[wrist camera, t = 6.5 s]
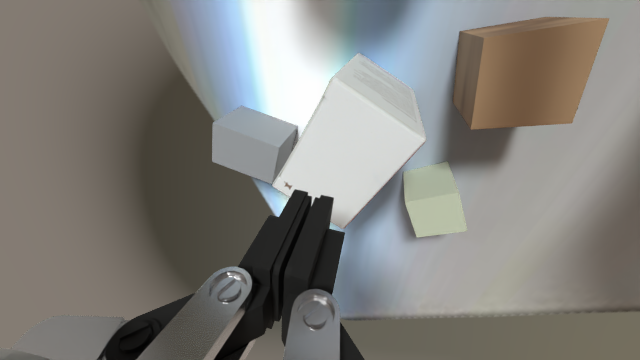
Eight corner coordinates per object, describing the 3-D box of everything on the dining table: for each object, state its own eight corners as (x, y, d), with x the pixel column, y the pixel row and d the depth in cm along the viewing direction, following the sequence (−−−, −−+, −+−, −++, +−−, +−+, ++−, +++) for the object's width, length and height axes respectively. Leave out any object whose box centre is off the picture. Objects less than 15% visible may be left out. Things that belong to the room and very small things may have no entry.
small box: (360, 159, 25) (342, 233, 17) (312, 128, 25) (268, 188, 16) (416, 88, 20) (431, 142, 12) (359, 49, 20) (332, 75, 11)
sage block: (447, 161, 23) (458, 192, 19) (455, 195, 25) (467, 230, 21) (403, 171, 25) (404, 202, 21) (413, 203, 26) (416, 237, 22)
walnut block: (545, 16, 16) (609, 18, 12) (526, 95, 19) (572, 123, 14) (459, 31, 18) (484, 37, 13) (452, 101, 20) (470, 129, 16)
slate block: (298, 125, 25) (279, 147, 21) (290, 159, 27) (271, 184, 23) (242, 105, 25) (212, 122, 21) (239, 139, 28) (212, 161, 23)
